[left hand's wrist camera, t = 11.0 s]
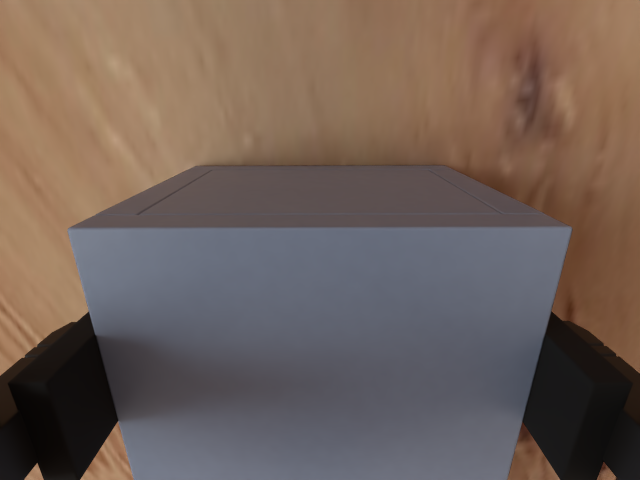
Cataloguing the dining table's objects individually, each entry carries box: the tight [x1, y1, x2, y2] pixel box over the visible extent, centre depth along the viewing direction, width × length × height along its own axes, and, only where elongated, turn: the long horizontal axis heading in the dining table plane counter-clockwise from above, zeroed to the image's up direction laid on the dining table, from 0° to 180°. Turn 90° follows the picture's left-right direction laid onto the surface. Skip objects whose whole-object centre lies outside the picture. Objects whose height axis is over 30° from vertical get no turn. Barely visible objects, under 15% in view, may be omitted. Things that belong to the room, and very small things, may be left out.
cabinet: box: [68, 165, 572, 480], centre depth 14 cm, size 18×11×8 cm, turn 0°
